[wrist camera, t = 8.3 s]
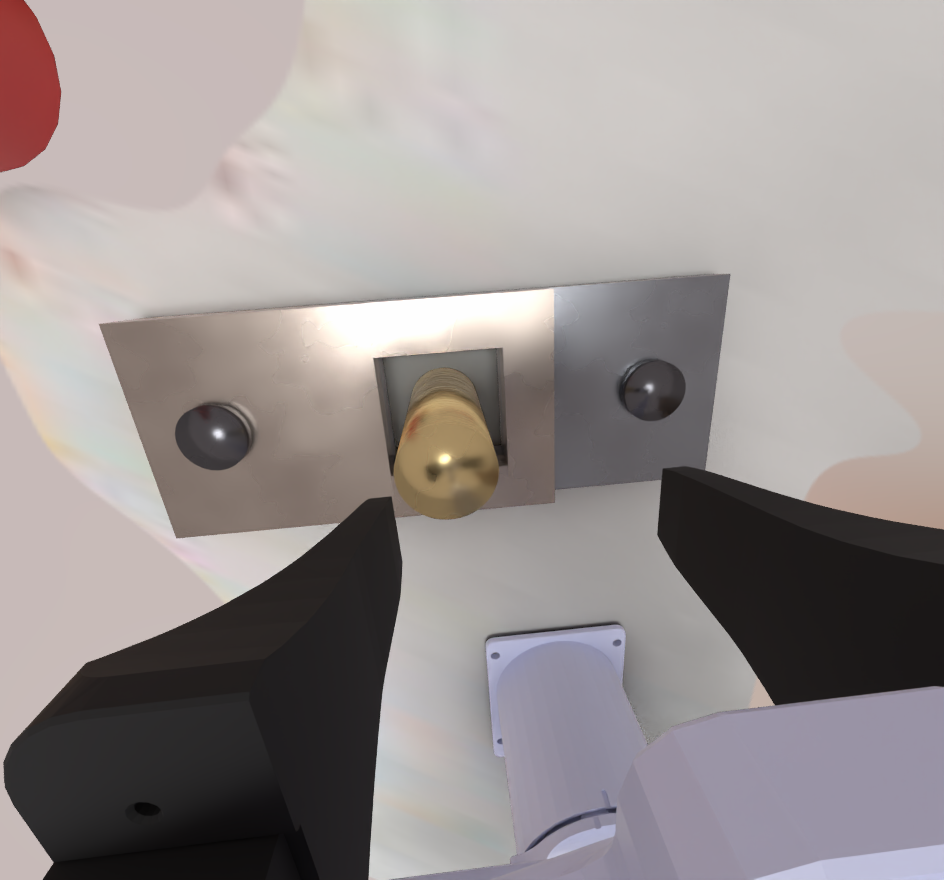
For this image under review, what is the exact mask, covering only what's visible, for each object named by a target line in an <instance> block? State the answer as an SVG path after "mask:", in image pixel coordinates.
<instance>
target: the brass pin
mask: <svg viewBox="0 0 944 880" xmlns="http://www.w3.org/2000/svg"><path fill="white" fill-rule="evenodd" d="M498 478H499V464H498V459H497V456H496V453H495V450H494V447H493V444H492V440H491V437H490V434H489V431H488V428H487V425H486V421H485V418H484V415H483V412H482V409H481V406H480V403H479V399H478V396H477V393H476V390H475V387H474V385H473V383H472V382H471V381H470V379H469V378H468V377H467V376H465V375H464V374H463V373H461V372H459V371H457V370H454V369H451V368H438V369H434V370H431V371H429V372H427V373H426V374H424V375H423V376H422V377H421V378H420V379H419V380H418V381H417V383H416V384H415V386H414V388H413V391H412V395H411V399H410V403H409V407H408V411H407V415H406V419H405V423H404V427H403V431H402V435H401V439H400V443H399V447H398V451H397V455H396V459H395V463H394V481H395V484H396V488H397V490H398V492H399V494H400V495H401V497H402V499H403V500H404V501H405V502H406V503H407V504H408V505H409V506H410V507H411V508H412V509H414V510H415V511H417V512H419V513H421V514H422V515H425V516H428V517H431V518H435V519H456V518H461V517H464V516H467V515H469V514H471V513H473V512H475V511H476V510H478V509H479V508H481V507H482V506H483V505H484V504H485V503H486V502H487V501H488V500H489V498H490V497H491V496H492V494H493V492H494V490H495V488H496V485H497V482H498Z"/></svg>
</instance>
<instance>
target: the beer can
mask: <svg viewBox="0 0 944 880" xmlns="http://www.w3.org/2000/svg"><path fill="white" fill-rule="evenodd" d="M60 99H61V88H60V83H59V79H58V73H57V68H56V63H55V58H54V54H53V52H52V50H51V48H50V46H49V43H48V41H47V39H46V37H45V35H44V33H43V30H42V28H41V26H40V24H39V22H38V19H37V18H36V16H35V15H34V13H33V12H32V10H31V9H30V8H29V6H28V5H27V4H26V3H25V1H24V0H0V172H3V171H7V170H11V169H15V168H19V167H22V166H25V165H26V164H27V163H28V162H30V161H31V160H32V159H34V158H35V157H36V156H37V155H38V154H40V153H41V152H42V151H44V150H45V149H46V147H47V145H48V143H49V141H50V139H51V137H52V135H53V133H54V131H55V129H56V127H57V125H58V119H59V109H60Z"/></svg>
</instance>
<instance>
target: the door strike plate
mask: <svg viewBox="0 0 944 880" xmlns="http://www.w3.org/2000/svg"><path fill="white" fill-rule="evenodd" d="M729 280H730V274H709V275H696V276H683V277H670V278H657V279H644V280H631V281H618V282H605V283H592V284H579V285H567V286H554V287H541V288H528V289H515V290H502V291H489V292H476V293H463V294H450V295H437V296H424V297H411V298H398V299H385V300H372V301H359V302H346V303H333V304H320V305H307V306H295V307H282V308H269V309H256V310H243V311H230V312H217V313H204V314H191V315H178V316H165V317H152V318H140V319H133V320H125V321H118V322H111V323H103V324H99V326H100V329H101V331H102V334H103V337H104V340H105V342H106V345H107V348H108V351H109V353H110V356H111V359H112V362H113V364H114V367H115V370H116V373H117V375H118V378H119V381H120V384H121V387H122V389H123V392H124V395H125V398H126V400H127V403H128V406H129V409H130V411H131V414H132V417H133V420H134V422H135V425H136V428H137V431H138V433H139V436H140V439H141V442H142V444H143V447H144V450H145V453H146V456H147V458H148V461H149V464H150V467H151V469H152V472H153V475H154V478H155V480H156V483H157V486H158V489H159V491H160V494H161V497H162V500H163V502H164V505H165V508H166V511H167V513H168V516H169V519H170V522H171V524H172V527H173V530H174V533H175V536H176V538H185V537H196V536H206V535H217V534H227V533H238V532H249V531H259V530H270V529H280V528H291V527H301V526H312V525H322V524H333V523H341V522H343V521H344V520H345V519H346V518H347V517H348V516H349V515H350V514H351V513H352V512H353V511H355V510H356V509H357V508H358V507H359V506H360V505H361V504H362V503H363V502H365V501H366V500H367V499H370V498H380V497H389V496H392V502H393V508H394V514H395V518H396V517H407V516H417V515H422V514H421V513H419V512H417V511H415V510H414V509H412V508H411V507H410V506H409V505H408V504H407V503H406V502H405V501H404V500H403V499H402V497H401V495H400V494H399V492H398V490H397V488H396V484H395V481H394V463H395V459H396V448H395V441H394V434H393V427H392V420H391V413H390V406H389V399H388V392H387V385H386V378H385V371H384V364H383V357H392V356H404V355H417V354H429V353H441V352H453V351H465V350H478V349H490V348H496V355H497V375H498V394H499V414H500V434H501V445H499V446H493V447H494V450H495V453H496V456H497V459H498V464H499V478H498V482H497V485H496V488H495V490H494V492H493V494H492V496H491V497H490V498H489V500H488V501H487V502H486V503H485V504H484V505H483V506H482V507H481V508H479V509H478V510H481V509H491V508H502V507H512V506H523V505H533V504H544V503H554V502H555V490H556V489H566V488H577V487H588V486H598V485H609V484H620V483H630V482H641V481H652V480H662V469H663V468H672V467H682V466H687V467H693V468H697V469H701V470H705V466H706V458H707V451H708V443H709V435H710V427H711V420H712V412H713V404H714V396H715V389H716V381H717V373H718V365H719V358H720V350H721V342H722V334H723V327H724V319H725V311H726V304H727V296H728V288H729Z"/></svg>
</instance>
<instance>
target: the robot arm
mask: <svg viewBox="0 0 944 880" xmlns="http://www.w3.org/2000/svg"><path fill="white" fill-rule="evenodd" d="M657 535H658V537H659V539H660V541H661V542H662V544H663V546H664V548H665V550H666V552H667V553H668V555H669V557H670V558H671V560H672V562H673V563H674V565H675V567H676V568H677V569H678V571H679V572H680V573H681V574H682V576H683V577H684V578H685V580H686V581H687V582H688V584H689V585H690V586H691V587H692V589H693V590H694V591H695V593H696V594H697V595H698V596H699V598H700V599H701V600H702V601H703V603H704V604H705V605H706V606H707V608H708V609H709V610H710V611H711V613H712V614H713V615H714V616H715V618H716V619H717V620H718V622H719V623H720V624H721V625H722V627H723V628H724V629H725V630H726V632H727V633H728V634H729V635H730V637H731V638H732V640H733V641H734V642H735V644H736V645H737V646H738V648H739V649H740V651H741V652H742V653H743V655H744V657H745V658H746V660H747V661H748V663H749V664H750V666H751V668H752V669H753V671H754V672H755V674H756V675H757V677H758V679H759V680H760V682H761V683H762V685H763V686H764V687H765V689H766V691H767V693H768V694H769V696H770V698H771V699H772V701H773V703H774V704H775V706H768V707H758V708H750V709H742V710H733V711H725V712H718V713H714V714H711V715H708V716H705V717H701V718H698V719H695V720H692V721H688V722H685V723H682V724H678V725H675V726H672V727H671V728H669V729H668V730H667V731H665V732H664V733H663V734H662V735H660V736H659V737H658V738H656V739H655V740H654V741H653V742H651V743H650V744H649V745H648V743H647V741H646V739H645V737H644V734H643V732H642V730H641V728H640V725H639V723H638V721H637V718H636V716H635V714H634V712H633V709H632V707H631V705H630V703H629V700H628V698H627V696H626V694H625V691H624V689H623V687H622V682H623V668H624V653H625V639H626V633H625V631H624V629H623V627H622V626H620V625H608V626H598V627H589V628H579V629H570V630H560V631H551V632H541V633H532V634H522V635H513V636H503V637H494V638H490V639H489V640H487V642H486V645H485V646H486V659H487V672H488V685H489V697H490V710H491V723H492V736H493V748H494V754H495V755H496V756H498V757H505V765H506V773H507V780H508V788H509V796H510V803H511V811H512V819H513V827H514V834H515V842H516V850H517V855H515V856H512V857H511V858H510V864H506V865H499V866H491V867H483V868H475V869H468V870H460V871H452V872H445V873H437V874H429V875H421V876H414V877H406V878H398V879H391V880H944V530H943V529H936V528H930V527H924V526H917V525H912V524H905V523H899V522H893V521H888V520H883V519H878V518H873V517H868V516H864V515H859V514H854V513H850V512H845V511H841V510H836V509H832V508H828V507H824V506H820V505H816V504H813V503H809V502H806V501H802V500H799V499H795V498H792V497H788V496H785V495H781V494H778V493H775V492H771V491H768V490H765V489H762V488H759V487H756V486H752V485H749V484H746V483H743V482H740V481H737V480H734V479H731V478H728V477H725V476H721V475H718V474H715V473H712V472H708V471H705V470H701V469H697V468H693V467H687V466H682V467H672V468H663V469H662V482H661V495H660V508H659V521H658V533H657ZM401 579H402V557H401V551H400V545H399V539H398V533H397V526H396V520H395V514H394V508H393V502H392V496H389V497H380V498H370V499H367V500H366V501H365V502H363V503H362V504H361V505H360V506H359V507H358V508H357V509H356V510H355V511H353V512H352V513H351V514H350V515H349V516H348V517H347V518H346V519H345V520H344V521H343V522H341V523H340V524H339V525H338V526H337V527H336V528H335V529H334V530H333V531H332V532H330V533H329V534H328V535H327V536H326V537H325V538H323V539H322V540H321V541H320V542H318V543H317V544H316V545H315V546H313V547H312V548H311V549H310V550H309V551H307V552H306V553H305V554H304V555H302V556H301V557H300V558H298V559H297V560H296V561H294V562H293V563H292V564H290V565H289V566H287V567H286V568H285V569H283V570H282V571H280V572H279V573H277V574H275V575H274V576H272V577H271V578H269V579H268V580H266V581H265V582H263V583H261V584H260V585H258V586H256V587H255V588H253V589H251V590H249V591H247V592H246V593H244V594H242V595H240V596H239V597H237V598H235V599H233V600H231V601H230V602H228V603H226V604H224V605H223V606H221V607H219V608H217V609H215V610H213V611H211V612H209V613H207V614H205V615H202V616H200V617H198V618H196V619H194V620H192V621H190V622H188V623H185V624H183V625H181V626H179V627H177V628H175V629H173V630H170V631H168V632H165V633H163V634H161V635H158V636H156V637H153V638H151V639H148V640H146V641H143V642H141V643H138V644H135V645H133V646H131V647H128V648H125V649H123V650H120V651H117V652H115V653H112V654H110V655H107V656H104V657H102V658H99V659H96V660H94V661H91V662H88V663H86V664H85V665H84V666H83V667H82V668H81V669H80V670H79V671H78V672H77V674H76V675H75V676H74V677H73V678H72V679H71V680H70V681H69V682H68V683H67V684H66V686H65V687H64V688H63V689H62V690H61V691H60V692H59V693H58V694H57V695H56V696H55V697H54V699H53V700H52V701H51V702H50V703H49V704H48V705H47V706H46V707H45V708H44V709H43V710H42V711H41V713H40V714H39V715H38V716H37V717H36V718H35V719H34V720H33V721H32V722H31V723H30V725H29V726H28V727H27V728H26V729H25V730H24V731H23V732H22V733H21V734H20V735H19V736H18V738H17V739H16V740H15V741H14V742H13V743H12V744H11V746H10V748H9V751H8V753H7V755H6V758H5V760H4V783H5V788H6V790H7V792H8V794H9V796H10V799H11V801H12V803H13V805H14V806H15V808H16V809H17V811H18V812H19V814H20V815H21V816H22V818H23V819H24V821H25V822H26V823H27V825H28V826H29V828H30V829H31V831H32V832H33V833H34V835H35V836H36V838H37V839H38V841H39V842H40V844H41V845H42V846H43V848H44V849H45V851H46V852H47V854H48V855H49V856H50V858H51V859H52V861H53V862H54V863H53V865H52V866H51V868H50V870H49V871H48V872H47V874H46V875H45V877H44V878H43V880H368V876H369V857H370V840H371V825H372V810H373V795H374V781H375V769H376V756H377V744H378V732H379V722H380V711H381V700H382V691H383V685H384V678H385V672H386V667H387V662H388V657H389V652H390V647H391V642H392V637H393V632H394V627H395V622H396V616H397V611H398V606H399V601H400V594H401ZM617 639H618V640H617ZM614 640H616V641H614ZM495 652H497V653H496V654H492V653H495Z"/></svg>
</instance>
